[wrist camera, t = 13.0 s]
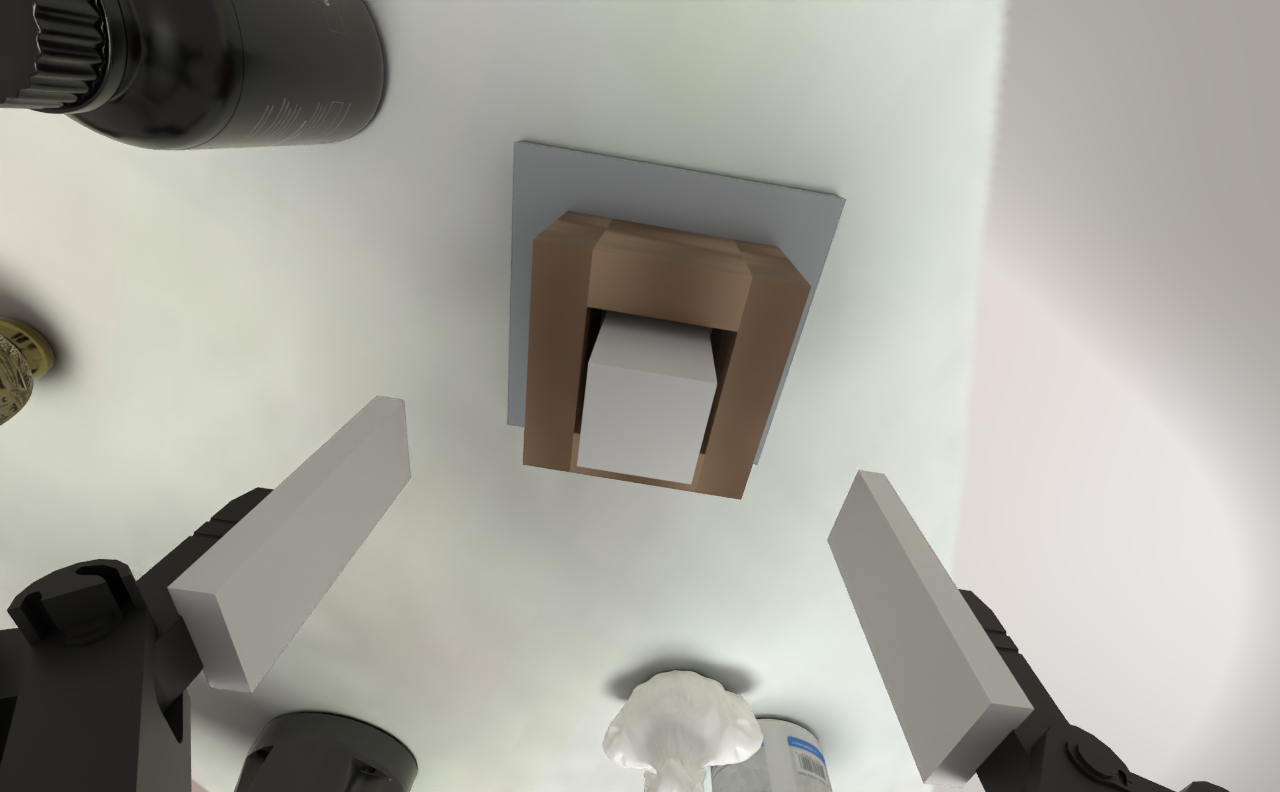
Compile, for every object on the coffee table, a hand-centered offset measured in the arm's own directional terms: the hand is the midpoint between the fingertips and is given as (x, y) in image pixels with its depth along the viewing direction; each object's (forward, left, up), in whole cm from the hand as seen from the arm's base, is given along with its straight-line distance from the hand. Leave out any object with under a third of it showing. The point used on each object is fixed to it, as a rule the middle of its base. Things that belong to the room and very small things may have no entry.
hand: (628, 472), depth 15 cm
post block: (0, 0, -12) cm, 12 cm away
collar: (0, 0, -11) cm, 11 cm away
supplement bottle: (-16, +9, -13) cm, 22 cm away
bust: (+7, -30, -13) cm, 33 cm away
